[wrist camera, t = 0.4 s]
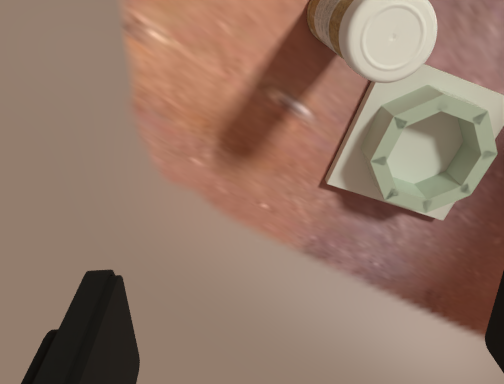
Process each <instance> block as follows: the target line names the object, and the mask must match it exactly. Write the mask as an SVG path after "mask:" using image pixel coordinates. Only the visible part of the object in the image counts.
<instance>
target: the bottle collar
mask: <svg viewBox="0 0 504 384" xmlns="http://www.w3.org/2000/svg"><path fill="white" fill-rule="evenodd" d="M503 126H504V95H503V94H500V93H498V92H495V91H493V90H490V89H487V88H485V87H482V86H480V85H477V84H475V83H472V82H470V81H467V80H464V79H462V78H459V77H457V76H454V75H452V74H449V73H447V72H444V71H441V70H439V69H436V68H434V67H431V66H429V65H426V64H423V65H422V66H421V67H420V68H419V69H418V70H417V71H416V72H414V73H413V74H412V75H410V76H408V77H407V78H405V79H402V80H399V81H396V82H392V83H377V82H373V81H371V83H370V85H369V87H368V89H367V91H366V94H365V96H364V98H363V100H362V102H361V104H360V106H359V108H358V110H357V112H356V115H355V117H354V119H353V121H352V123H351V125H350V127H349V129H348V131H347V133H346V136H345V138H344V140H343V142H342V144H341V146H340V148H339V150H338V152H337V154H336V157H335V159H334V161H333V163H332V165H331V167H330V169H329V171H328V173H327V175H326V178H325V181H326V183H327V184H329V185H332V186H335V187H338V188H342V189H345V190H348V191H351V192H354V193H357V194H361V195H364V196H367V197H370V198H373V199H376V200H380V201H383V202H386V203H389V204H392V205H395V206H399V207H402V208H405V209H408V210H411V211H414V212H418V213H421V214H424V215H427V216H430V217H433V218H437V219H440V220H444V218H445V217H446V215H447V214H448V212H449V210H450V209H451V207H452V206H453V204H454V203H455V201H457V200H460V199H462V198H465V197H467V196H470V195H471V194H472V192H473V191H474V189H475V188H476V186H477V185H478V183H479V182H480V180H481V179H482V177H483V175H484V174H485V172H486V171H487V169H488V168H489V166H490V165H491V163H492V162H493V160H494V159H495V157H496V156H497V154H498V153H497V149H496V144H495V138H496V137H497V135H498V134H499V132H500V131H501V129H502V127H503Z"/></svg>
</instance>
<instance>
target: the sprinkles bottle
mask: <svg viewBox="0 0 504 384" xmlns="http://www.w3.org/2000/svg"><path fill="white" fill-rule="evenodd" d="M307 22H308V26H309V29H310V31H311V33H312V34H313V35H314V36H315V37H316V38H317V39H318V40H319V41H321V42H323V43H324V44H325V45H326V46H328V47H329V48H330V49H331V50H333V51H334V52H335V53H336V54H338V55H339V56H340V57H341V58H343V59H344V60H345V62H346V63H347V64H348V66H349V67H350V68H351V69H353V70H354V71H355V72H356V73H358V74H359V75H361V76H362V77H364V78H366V79H368V80H370V81H373V82H377V83H392V82H396V81H399V80H402V79H405V78H407V77H408V76H410V75H412V74H413V73H414V72H416V71H417V70H418V69H419V68H420V67H421V66H422V65H423V64H424V63H425V61H426V60H427V59H428V57H429V55H430V54H431V52H432V50H433V48H434V45H435V41H436V37H437V19H436V15H435V12H434V9H433V7H432V5H431V4H430V2H429V1H428V0H310V2H309V5H308V9H307Z"/></svg>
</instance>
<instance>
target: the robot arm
mask: <svg viewBox="0 0 504 384" xmlns="http://www.w3.org/2000/svg"><path fill="white" fill-rule="evenodd" d="M485 342H486V346H487V349H488V350H489V352H490V353H491V355H492V356H493V358H494V359H495V361H496V362H497V364H498V365H499V367H500V368H501V370H502V371H503V373H504V271H503V275H502V278H501V282H500V285H499V289H498V292H497V296H496V299H495V303H494V306H493V310H492V313H491V317H490V320H489V324H488V327H487V331H486V334H485ZM139 361H140V360H139V353H138V348H137V343H136V339H135V334H134V329H133V324H132V320H131V315H130V310H129V306H128V301H127V296H126V292H125V287H124V282H123V278H122V276H120V275H117V276H115V274H114V272H113V270H96V271H87V272H86V274H85V275H84V277H83V279H82V282H81V284H80V286H79V288H78V290H77V292H76V294H75V296H74V298H73V300H72V302H71V304H70V307H69V309H68V311H67V313H66V315H65V317H64V319H63V321H62V323H61V326H60V327H59V329H58V330H51V331H49V332H48V333H47V335H46V336H45V338H44V339H43V341H42V343H41V345H40V347H39V349H38V351H37V353H36V355H35V357H34V359H33V361H32V363H31V365H30V367H29V369H28V371H27V373H26V375H25V377H24V379H23V381H22V383H21V384H136V381H137V376H138V372H139V363H140V362H139Z"/></svg>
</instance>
